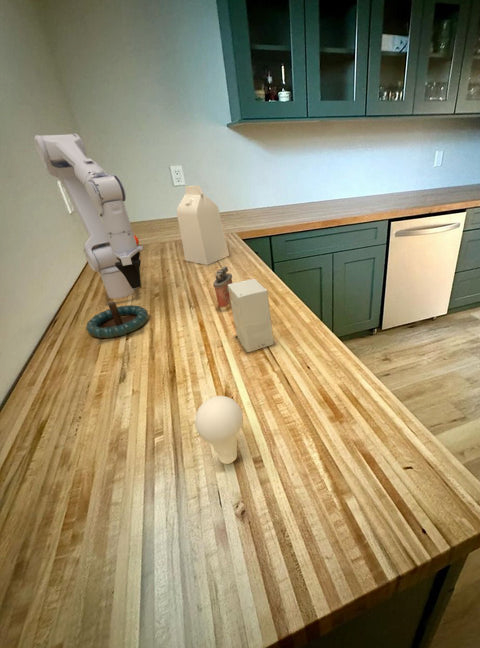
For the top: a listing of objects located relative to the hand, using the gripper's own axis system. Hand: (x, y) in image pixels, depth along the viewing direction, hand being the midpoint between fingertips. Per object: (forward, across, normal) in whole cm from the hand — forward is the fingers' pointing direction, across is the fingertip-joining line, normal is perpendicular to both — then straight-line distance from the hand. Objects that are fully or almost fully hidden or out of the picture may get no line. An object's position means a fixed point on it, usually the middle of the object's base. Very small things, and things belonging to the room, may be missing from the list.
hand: (136, 283), depth 87 cm
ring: (+6, -7, +6) cm, 11 cm away
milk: (+9, +38, -24) cm, 46 cm away
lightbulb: (+9, -58, -9) cm, 59 cm away
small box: (+8, -29, -22) cm, 37 cm away
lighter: (+9, -7, -21) cm, 24 cm away
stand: (+8, -7, +6) cm, 12 cm away
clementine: (+9, +70, +3) cm, 71 cm away
